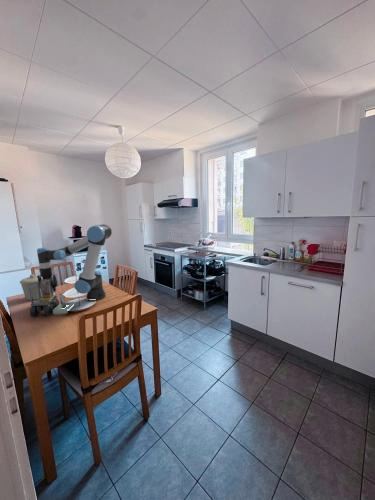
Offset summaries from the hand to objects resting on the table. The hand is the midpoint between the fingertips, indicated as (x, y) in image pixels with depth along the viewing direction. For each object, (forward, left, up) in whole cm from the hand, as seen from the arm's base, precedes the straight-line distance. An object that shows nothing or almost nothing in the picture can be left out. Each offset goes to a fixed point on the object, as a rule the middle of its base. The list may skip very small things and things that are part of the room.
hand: (49, 295), depth 169 cm
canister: (+22, -16, -8) cm, 28 cm away
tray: (-16, +13, -7) cm, 22 cm away
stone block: (0, 0, -6) cm, 6 cm away
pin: (-16, +13, -6) cm, 22 cm away
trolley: (-4, +15, -7) cm, 17 cm away
